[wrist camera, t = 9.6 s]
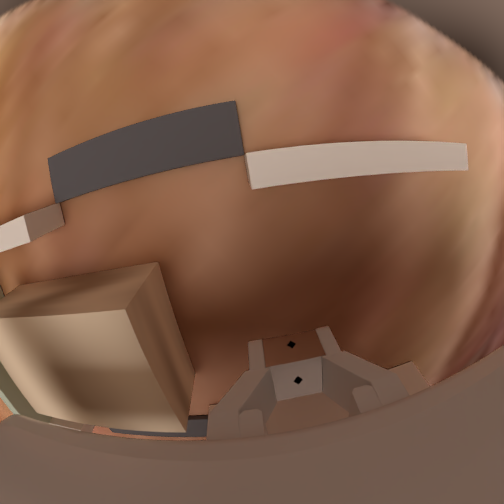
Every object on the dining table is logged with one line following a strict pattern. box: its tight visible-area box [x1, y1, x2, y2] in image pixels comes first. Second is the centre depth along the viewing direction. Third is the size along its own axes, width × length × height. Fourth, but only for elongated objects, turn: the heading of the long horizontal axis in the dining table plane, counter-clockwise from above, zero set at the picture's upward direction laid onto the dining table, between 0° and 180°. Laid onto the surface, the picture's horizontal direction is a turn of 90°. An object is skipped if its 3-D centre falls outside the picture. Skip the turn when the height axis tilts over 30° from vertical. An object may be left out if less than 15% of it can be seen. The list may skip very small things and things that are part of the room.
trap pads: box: [48, 101, 244, 437], centre depth 11 cm, size 12×17×1 cm
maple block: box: [0, 262, 195, 432], centre depth 10 cm, size 9×6×4 cm, turn 99°
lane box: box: [0, 141, 468, 435], centre depth 10 cm, size 24×13×4 cm, turn 99°
